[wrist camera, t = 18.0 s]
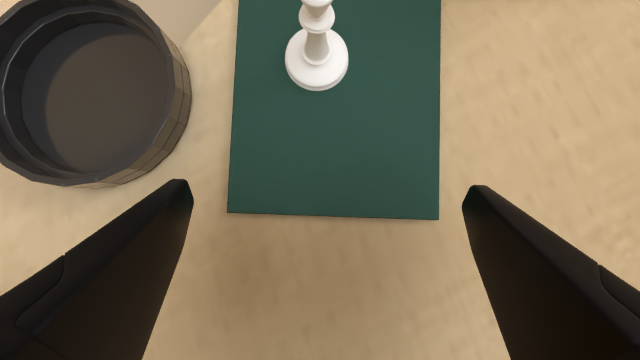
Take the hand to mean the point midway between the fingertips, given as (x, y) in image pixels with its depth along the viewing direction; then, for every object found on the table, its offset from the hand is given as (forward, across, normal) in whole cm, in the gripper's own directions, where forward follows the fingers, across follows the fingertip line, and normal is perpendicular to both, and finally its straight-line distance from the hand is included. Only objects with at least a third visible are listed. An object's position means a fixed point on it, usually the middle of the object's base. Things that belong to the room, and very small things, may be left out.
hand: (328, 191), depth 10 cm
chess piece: (+17, +1, +2) cm, 17 cm away
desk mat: (+16, -1, +4) cm, 16 cm away
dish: (+15, +17, +4) cm, 23 cm away
